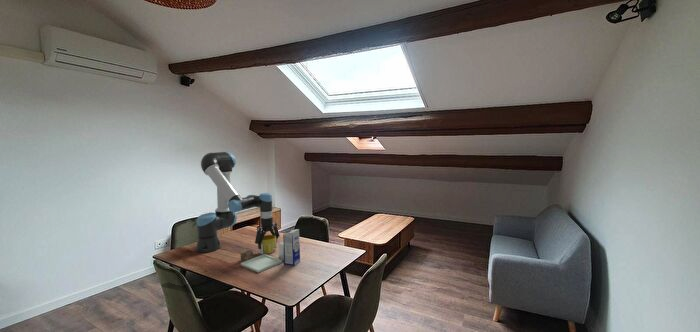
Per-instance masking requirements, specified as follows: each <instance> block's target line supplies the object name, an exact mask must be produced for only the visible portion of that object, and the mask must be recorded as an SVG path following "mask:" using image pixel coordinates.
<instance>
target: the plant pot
mask: <svg viewBox="0 0 700 332" xmlns="http://www.w3.org/2000/svg"><path fill="white" fill-rule="evenodd" d="M275 242H276V236H273V235H272V234H265V235H264V238H263V240H262V244H263V254H266V255H269V254H272V253H273V252H274V250H275V248H274V246H275Z"/></svg>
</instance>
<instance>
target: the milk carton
mask: <svg viewBox="0 0 700 332" xmlns="http://www.w3.org/2000/svg"><path fill="white" fill-rule="evenodd" d="M282 242H283V247H284V260H283V265H285V266H289V267H290V266H292V267H295V266H296V265H298V264H299V263H300V262H301V252H300V251H301V250H300V246H301V245H300V244H301V243H300V228H298V229H297V228H296V229H287V230H285V233H283V234H282Z"/></svg>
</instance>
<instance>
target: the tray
mask: <svg viewBox="0 0 700 332" xmlns="http://www.w3.org/2000/svg"><path fill="white" fill-rule="evenodd" d="M282 263H283V260H281V259H279V257H274V256H271V255H269V254H264V253H263V254H260V255H257V256H255V257H253V259H250V260H247V261H241V262H240V266H241V267H242V268H246V269H248V270H250V271H253V272H255V273H258V274H259V273H261V272H264V271H267V270H268V269H271V268H273V267H275V266H277V265H279V264H282Z"/></svg>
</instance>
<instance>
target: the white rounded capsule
mask: <svg viewBox="0 0 700 332" xmlns="http://www.w3.org/2000/svg"><path fill="white" fill-rule="evenodd" d="M277 244H278V245H277V248H278V259H281V260H282V261H284V247H283V241H280V242H279V243H277Z"/></svg>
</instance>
